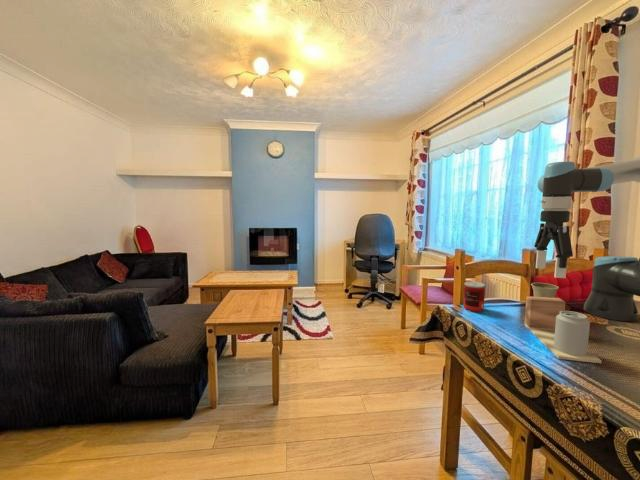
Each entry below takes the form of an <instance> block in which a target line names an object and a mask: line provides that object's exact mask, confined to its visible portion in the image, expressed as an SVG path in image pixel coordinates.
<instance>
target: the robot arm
mask: <svg viewBox="0 0 640 480" xmlns="http://www.w3.org/2000/svg"><path fill="white" fill-rule="evenodd" d="M630 182H636V183H640V156H638V157H635V158H633V159H632V160H627V161H622V162H615V163H609V164H601V165H596V166H590V167H583V168H576V164H575V162H574V161H570V160H569V161H568V160H567V161H555V162H549V163H548V164H546V165H545V167H544V173H543V175H542V176H541V177H539V179H538V181H537V188H538V189H537V190H539V192H540V193H542V199H541V200H540V203H541V209H542V210H541V211H540V222H542V223H540V224H539V229H538V230H539V231H538V233H537V236H536V239H535V242H534V244H533V245H534V246H533V247H534V248H535V249H536V260H535V269H542V270H543V269H546V264H547V254H548V253H547V252H548V246H549V244H550V243H551V240H552V241H553V244H554V247H555V251H556V253H557V254H555V265H554V276H553V277H554V278H555V279H557V278H558V279H559V278H560V279H566V276H567V267H568V259H569V258H572V257H573V256H574V253H573V247H572V240H571V235H570V226H569V225H564V223H568V222H570V216H571V211H570V209H571V208H572V199H573V197H572V196H573V193H597V192H605V191H607V190H608V189H610V188H611V187H612V186H613V185H616V184H623V183H624V184H625V183H630ZM634 296H637V297H640V257H639V258H638V257H636V256H635V257H634V256H618V255H617V256H613V255H611V256H598V257H596V258H595V259H594V263H593V268H592V281H591V291H590V293H589V295H588V297H587V299H586V301H585V302H584V304H583V311H585V312H586V313H588V314H590V315H593V316H596V317H599V318H603V319H608V320H613V321H618V322H619V321H621V322H635V321H638V320H639V311H638V309H637V306H636V302H635V299H634Z"/></svg>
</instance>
